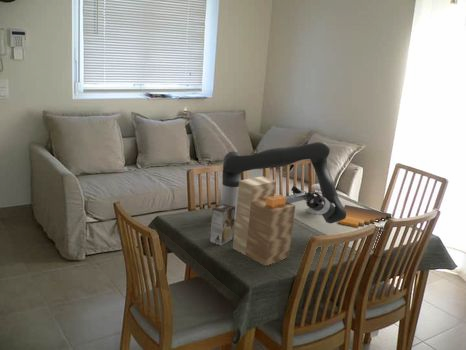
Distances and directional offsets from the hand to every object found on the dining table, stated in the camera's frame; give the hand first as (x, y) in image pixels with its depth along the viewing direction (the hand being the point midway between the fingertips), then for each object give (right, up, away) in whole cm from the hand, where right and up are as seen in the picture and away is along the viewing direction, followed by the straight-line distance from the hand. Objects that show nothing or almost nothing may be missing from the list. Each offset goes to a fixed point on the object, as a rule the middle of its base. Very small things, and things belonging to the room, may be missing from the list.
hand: (300, 191), depth 219 cm
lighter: (+38, -27, +21) cm, 51 cm away
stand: (-17, -27, +3) cm, 32 cm away
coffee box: (-34, -23, +12) cm, 43 cm away
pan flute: (+41, -18, +53) cm, 70 cm away
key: (-6, -5, -4) cm, 9 cm away
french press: (+16, -13, +59) cm, 63 cm away
